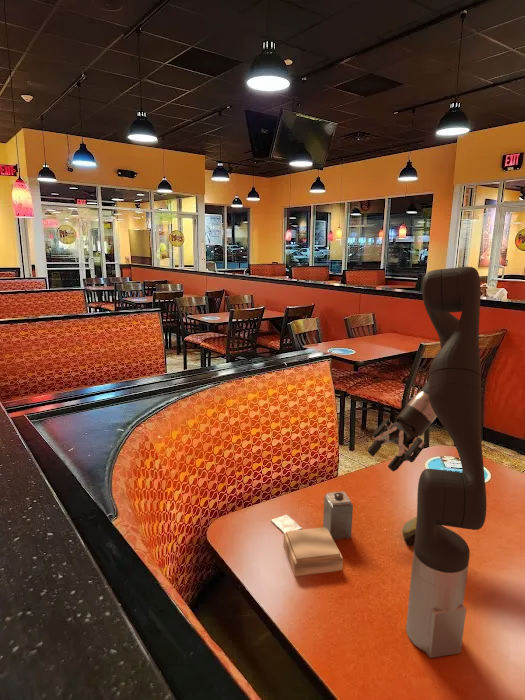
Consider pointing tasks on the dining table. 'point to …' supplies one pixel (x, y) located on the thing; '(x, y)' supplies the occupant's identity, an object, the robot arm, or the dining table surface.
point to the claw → (410, 531)
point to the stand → (312, 551)
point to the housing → (338, 514)
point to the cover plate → (285, 524)
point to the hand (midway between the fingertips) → (379, 461)
